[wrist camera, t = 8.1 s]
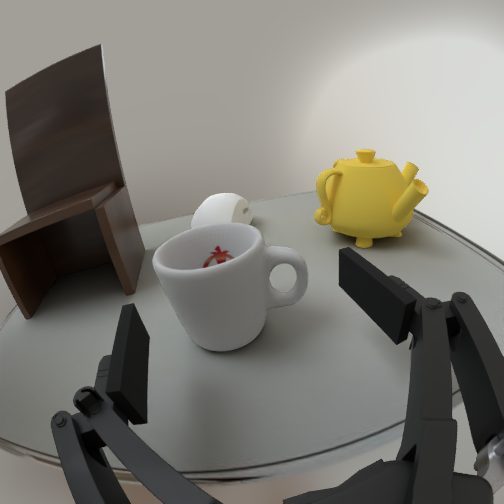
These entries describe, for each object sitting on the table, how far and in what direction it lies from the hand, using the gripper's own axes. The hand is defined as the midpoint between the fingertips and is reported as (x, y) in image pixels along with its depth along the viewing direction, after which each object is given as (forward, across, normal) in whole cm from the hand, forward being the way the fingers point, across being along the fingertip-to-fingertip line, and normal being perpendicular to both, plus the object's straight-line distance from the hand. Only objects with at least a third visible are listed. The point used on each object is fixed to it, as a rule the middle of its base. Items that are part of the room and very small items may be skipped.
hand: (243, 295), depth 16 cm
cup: (+4, 0, -6) cm, 7 cm away
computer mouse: (+25, +2, -6) cm, 26 cm away
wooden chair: (+20, -20, -6) cm, 29 cm away
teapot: (+14, +21, -6) cm, 26 cm away
